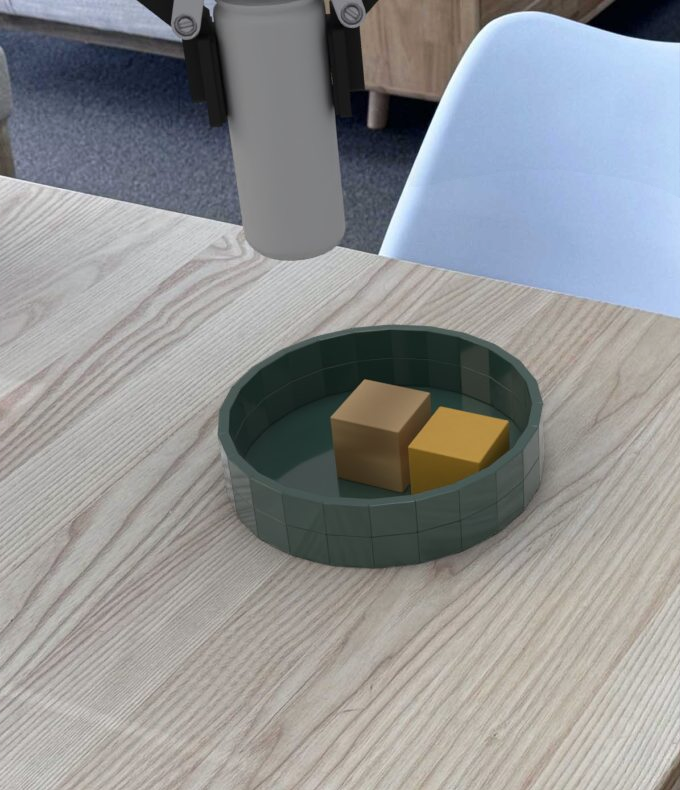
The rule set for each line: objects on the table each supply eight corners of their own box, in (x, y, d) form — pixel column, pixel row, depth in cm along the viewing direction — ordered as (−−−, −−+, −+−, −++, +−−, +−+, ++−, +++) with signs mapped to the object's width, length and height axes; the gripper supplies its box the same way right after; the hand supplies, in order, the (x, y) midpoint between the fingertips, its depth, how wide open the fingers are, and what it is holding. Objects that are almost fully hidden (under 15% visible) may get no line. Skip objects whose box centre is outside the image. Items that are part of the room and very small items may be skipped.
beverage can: (229, 260, 65) (191, 4, 58) (268, 215, 69) (236, -30, 62) (328, 269, 64) (299, 10, 57) (361, 223, 68) (339, -25, 61)
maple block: (336, 478, 76) (329, 417, 74) (369, 438, 79) (364, 378, 77) (403, 493, 75) (398, 432, 72) (434, 452, 78) (430, 392, 76)
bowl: (166, 531, 73) (152, 462, 71) (323, 367, 87) (316, 303, 84) (467, 610, 68) (463, 537, 65) (586, 421, 81) (586, 355, 79)
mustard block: (412, 508, 74) (407, 446, 71) (443, 466, 77) (439, 405, 74) (482, 525, 72) (479, 462, 70) (511, 481, 75) (509, 420, 73)
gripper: (440, -365, 57) (460, 68, 67) (9, -347, 55) (96, 95, 65) (461, -346, 51) (480, 128, 61) (-24, -326, 49) (78, 160, 59)
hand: (280, 107), depth 63 cm, fingers closed on beverage can, 4 cm apart
